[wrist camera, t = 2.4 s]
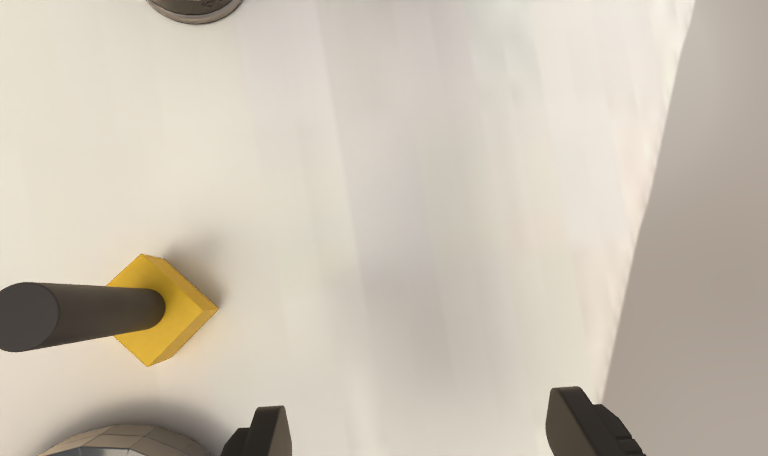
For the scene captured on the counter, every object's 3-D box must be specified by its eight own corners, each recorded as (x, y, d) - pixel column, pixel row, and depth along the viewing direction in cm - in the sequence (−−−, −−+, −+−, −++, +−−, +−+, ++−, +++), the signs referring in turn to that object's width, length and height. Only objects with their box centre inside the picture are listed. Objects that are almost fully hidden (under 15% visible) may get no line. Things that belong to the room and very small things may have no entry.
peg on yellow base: (113, 306, 30) (-91, 314, 15) (164, 258, 31) (20, 223, 16) (170, 358, 30) (21, 417, 15) (219, 308, 31) (124, 318, 16)
